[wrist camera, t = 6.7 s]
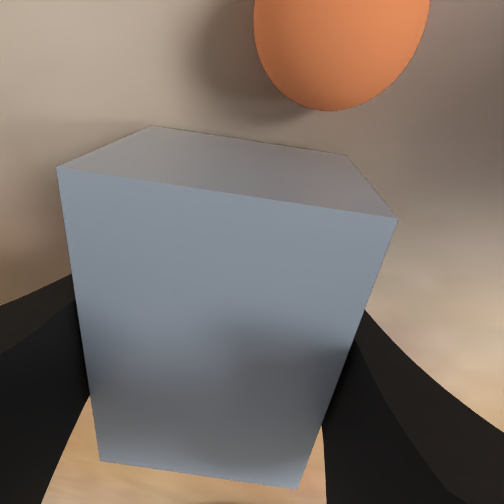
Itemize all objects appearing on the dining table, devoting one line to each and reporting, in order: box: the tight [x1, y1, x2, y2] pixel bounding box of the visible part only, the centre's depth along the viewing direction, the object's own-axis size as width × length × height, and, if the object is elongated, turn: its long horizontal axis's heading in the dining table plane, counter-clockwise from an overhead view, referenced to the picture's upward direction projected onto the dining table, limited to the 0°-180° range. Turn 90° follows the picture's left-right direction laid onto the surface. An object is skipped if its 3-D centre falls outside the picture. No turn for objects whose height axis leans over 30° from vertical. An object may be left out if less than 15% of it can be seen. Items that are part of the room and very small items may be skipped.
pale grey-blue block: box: [56, 126, 398, 490], centre depth 10 cm, size 9×6×5 cm
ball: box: [253, 0, 430, 111], centre depth 8 cm, size 4×4×4 cm
